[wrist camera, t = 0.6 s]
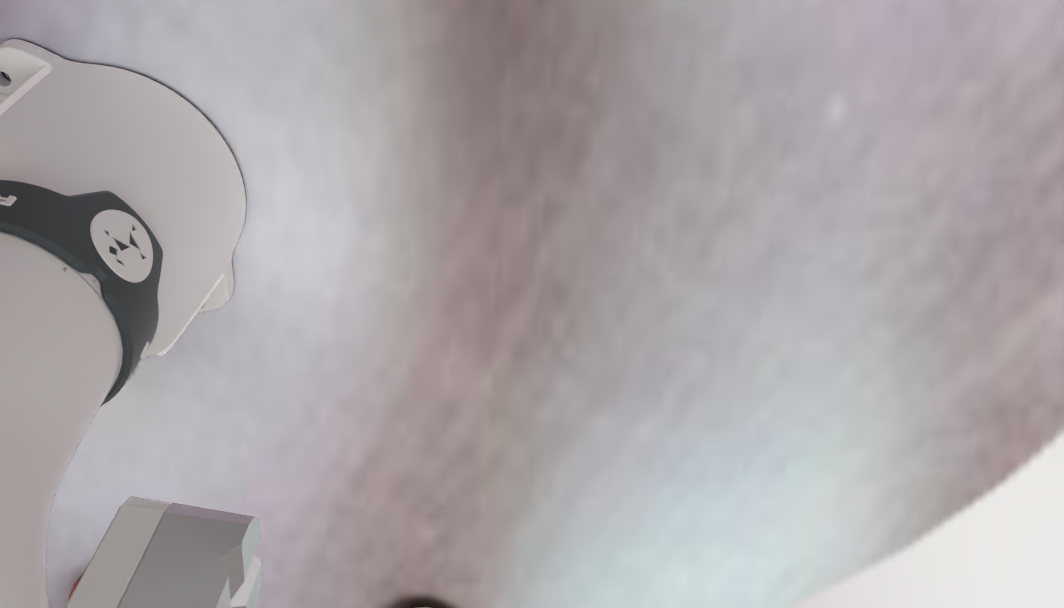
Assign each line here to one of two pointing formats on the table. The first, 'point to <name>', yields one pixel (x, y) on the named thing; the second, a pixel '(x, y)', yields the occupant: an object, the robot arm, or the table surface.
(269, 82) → the table surface
